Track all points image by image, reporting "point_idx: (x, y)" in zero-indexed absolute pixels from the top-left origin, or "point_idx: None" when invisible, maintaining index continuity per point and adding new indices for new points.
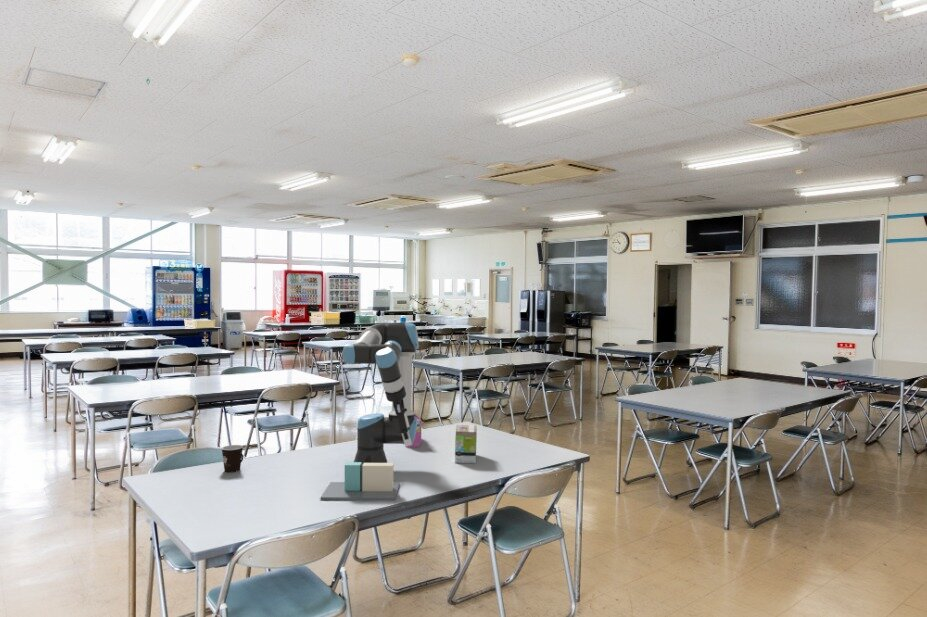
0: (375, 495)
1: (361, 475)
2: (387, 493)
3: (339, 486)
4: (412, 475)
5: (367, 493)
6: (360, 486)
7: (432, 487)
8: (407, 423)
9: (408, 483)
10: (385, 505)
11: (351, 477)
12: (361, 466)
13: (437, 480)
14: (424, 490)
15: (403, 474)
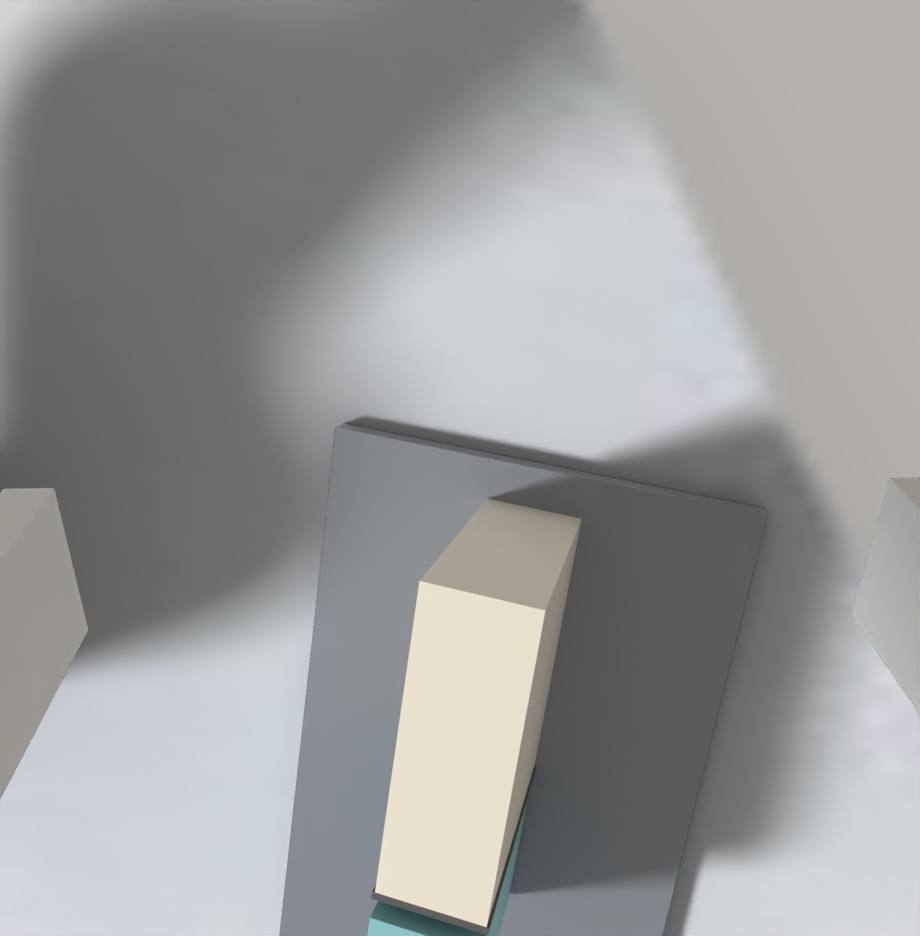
0: (667, 675)
1: None
2: (633, 568)
3: None
4: (99, 277)
5: (601, 733)
6: None
7: (453, 102)
8: (13, 583)
9: (314, 335)
10: None
11: (495, 930)
12: None
13: (250, 31)
14: (532, 195)
15: (71, 358)
